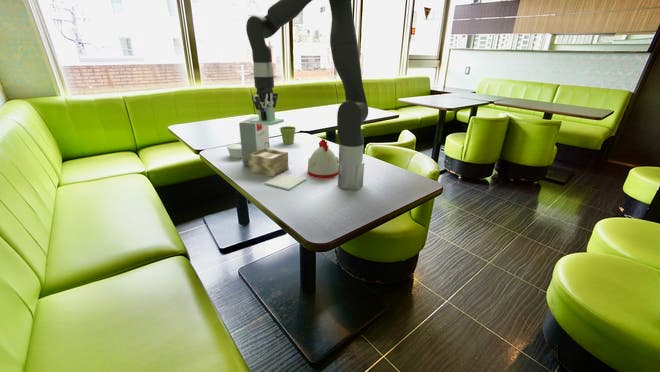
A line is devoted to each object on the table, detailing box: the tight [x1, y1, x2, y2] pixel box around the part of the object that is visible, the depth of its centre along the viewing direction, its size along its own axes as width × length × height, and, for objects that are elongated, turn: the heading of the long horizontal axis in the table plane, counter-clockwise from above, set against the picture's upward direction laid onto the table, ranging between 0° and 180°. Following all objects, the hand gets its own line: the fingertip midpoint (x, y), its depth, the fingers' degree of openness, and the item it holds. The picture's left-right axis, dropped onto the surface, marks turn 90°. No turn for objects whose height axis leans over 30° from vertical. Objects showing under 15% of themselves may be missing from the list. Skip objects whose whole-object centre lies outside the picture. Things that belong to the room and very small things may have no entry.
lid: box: [250, 105, 285, 127], centre depth 122 cm, size 11×9×6 cm
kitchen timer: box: [307, 138, 339, 180], centre depth 129 cm, size 14×14×15 cm
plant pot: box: [279, 126, 297, 145], centre depth 172 cm, size 9×9×9 cm
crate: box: [248, 148, 289, 178], centre depth 131 cm, size 13×11×8 cm
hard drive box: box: [238, 116, 271, 167], centre depth 140 cm, size 16×8×20 cm, turn 168°
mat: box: [263, 172, 307, 191], centre depth 121 cm, size 12×12×1 cm
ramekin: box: [227, 142, 242, 159], centre depth 150 cm, size 11×11×5 cm
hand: (267, 119), depth 123 cm, fingers closed on lid, 3 cm apart
